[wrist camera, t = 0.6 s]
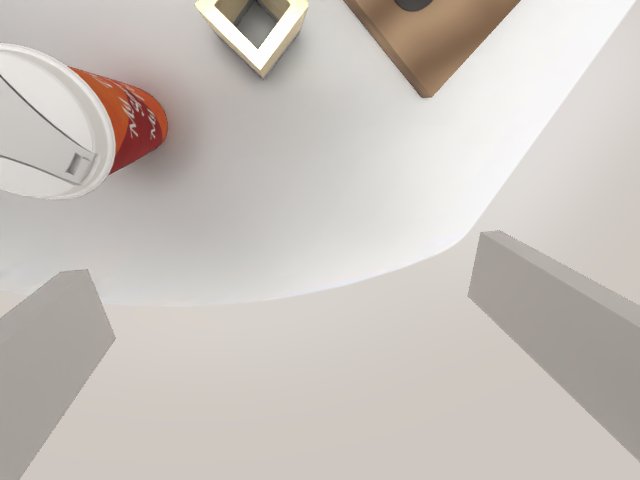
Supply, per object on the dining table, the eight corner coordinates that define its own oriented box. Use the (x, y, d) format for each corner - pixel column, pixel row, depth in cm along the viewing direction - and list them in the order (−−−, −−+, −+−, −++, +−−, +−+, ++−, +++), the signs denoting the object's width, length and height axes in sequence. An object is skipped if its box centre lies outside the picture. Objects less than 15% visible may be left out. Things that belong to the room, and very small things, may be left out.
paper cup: (195, 112, 28) (130, 116, 15) (156, 179, 29) (67, 232, 17) (109, 50, 25) (-61, -11, 12) (71, 127, 27) (-112, 144, 14)
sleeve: (217, 34, 25) (194, 5, 18) (253, -18, 24) (244, -71, 17) (263, 79, 27) (260, 69, 20) (299, 33, 26) (308, 4, 19)
